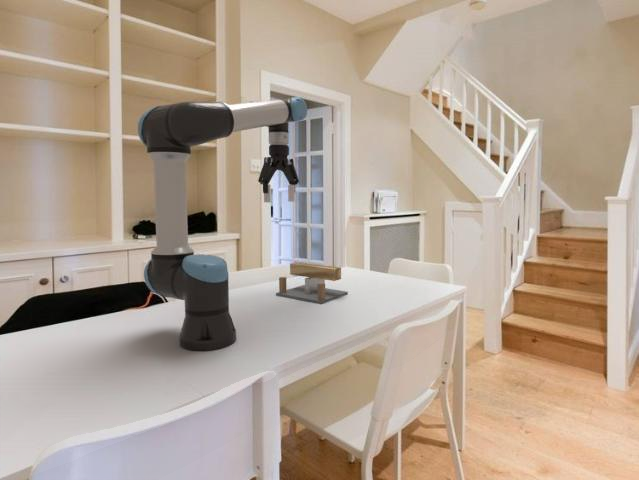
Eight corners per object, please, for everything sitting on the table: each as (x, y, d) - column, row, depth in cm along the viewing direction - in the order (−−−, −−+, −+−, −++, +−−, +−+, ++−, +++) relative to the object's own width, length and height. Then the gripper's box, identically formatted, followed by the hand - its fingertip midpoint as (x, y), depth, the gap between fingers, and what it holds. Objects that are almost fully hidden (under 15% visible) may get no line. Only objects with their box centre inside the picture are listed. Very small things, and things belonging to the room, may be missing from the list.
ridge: (309, 296, 163) (309, 279, 162) (305, 296, 165) (304, 278, 164) (324, 291, 171) (324, 274, 170) (320, 291, 173) (320, 274, 172)
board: (320, 304, 153) (320, 285, 152) (275, 295, 166) (275, 278, 165) (347, 294, 167) (347, 276, 166) (304, 287, 180) (304, 270, 179)
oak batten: (334, 281, 159) (334, 269, 158) (290, 274, 172) (290, 263, 171) (341, 278, 162) (341, 267, 162) (297, 272, 175) (297, 262, 175)
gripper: (262, 141, 145) (263, 202, 148) (307, 146, 165) (308, 201, 167) (247, 142, 150) (248, 202, 152) (292, 148, 169) (293, 201, 172)
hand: (279, 202), depth 160 cm, fingers open, 13 cm apart
